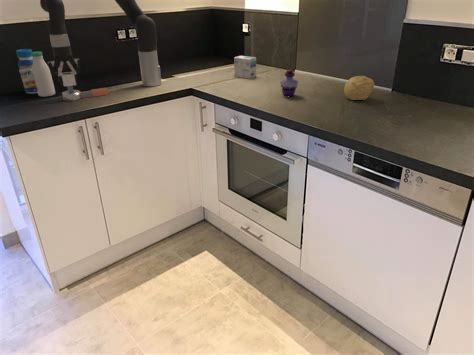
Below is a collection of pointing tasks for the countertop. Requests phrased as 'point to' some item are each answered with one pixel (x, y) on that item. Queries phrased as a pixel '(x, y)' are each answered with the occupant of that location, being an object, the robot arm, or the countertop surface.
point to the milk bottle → (42, 75)
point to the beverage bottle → (26, 70)
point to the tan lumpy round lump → (358, 88)
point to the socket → (68, 79)
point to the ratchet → (82, 93)
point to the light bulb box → (245, 67)
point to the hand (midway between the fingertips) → (69, 83)
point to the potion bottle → (289, 84)
